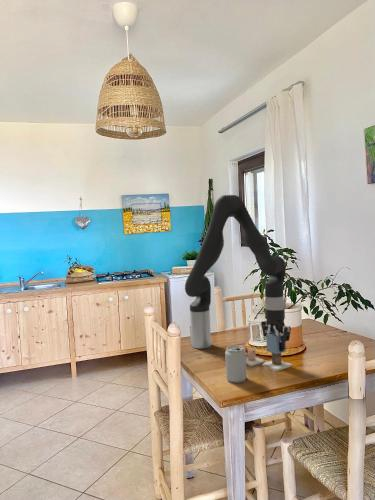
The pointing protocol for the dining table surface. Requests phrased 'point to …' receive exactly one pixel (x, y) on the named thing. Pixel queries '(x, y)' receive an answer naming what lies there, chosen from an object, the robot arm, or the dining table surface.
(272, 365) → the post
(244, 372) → the can
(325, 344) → the dining table surface
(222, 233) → the robot arm
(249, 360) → the short post
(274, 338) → the blue-grey block
